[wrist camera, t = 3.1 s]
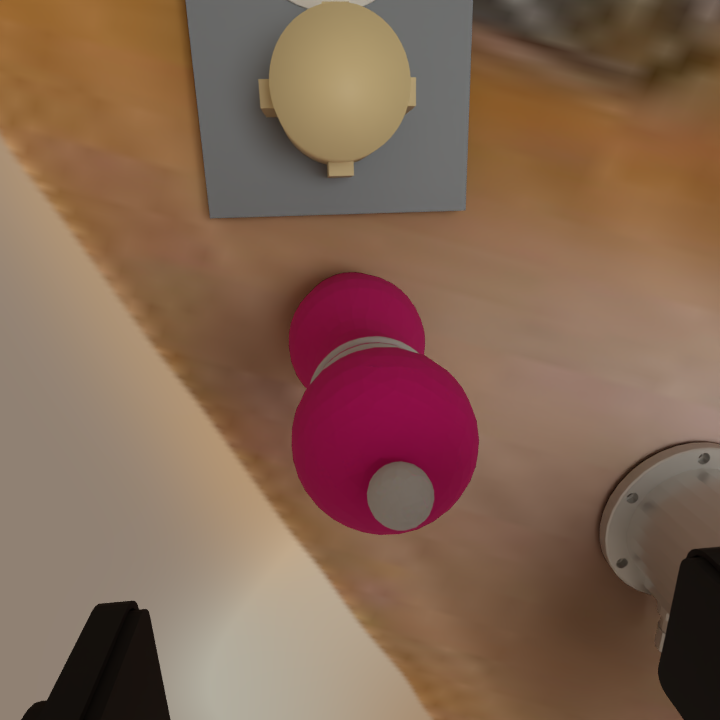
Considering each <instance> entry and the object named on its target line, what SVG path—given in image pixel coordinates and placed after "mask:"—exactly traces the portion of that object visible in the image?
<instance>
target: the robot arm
mask: <svg viewBox="0 0 720 720" xmlns="http://www.w3.org/2000/svg"><path fill="white" fill-rule="evenodd" d="M600 544H601V549H602V553H603V555H604V557H605V559H606V561H607V563H608V564H609V566H610V567H611V568H612V569H613V571H614V572H615V573H616V575H617V576H618V577H619V578H620V579H621V580H622V581H623V582H625V583H626V584H627V585H629V586H631V587H632V588H634V589H636V590H638V591H641V592H644V593H647V594H650V595H653V596H654V598H655V599H656V600H657V611H658V613H659V615H661V618H660V621H659V622H658V625H657V630H656V635H655V646H656V648H657V649H658V650H659V651H660V652H661V658H660V663H659V667H658V675H659V680H660V683H661V686H662V688H663V690H664V692H665V693H666V695H667V696H668V698H669V699H670V701H671V702H672V703H673V705H674V706H675V708H676V709H677V711H678V712H679V713H680V715H681V716H682V718H683V719H684V720H720V444H716V443H710V442H701V443H689V444H684V445H679V446H675V447H672V448H670V449H667V450H664V451H661V452H659V453H657V454H656V455H654V456H652V457H650V458H648V459H647V460H645V461H644V462H642V463H641V464H640V465H638V466H637V467H636V468H634V469H633V470H632V471H631V472H630V473H629V474H628V475H627V476H626V477H625V478H624V479H623V480H622V481H621V482H620V483H619V485H618V486H617V487H616V489H615V490H614V492H613V493H612V495H611V496H610V498H609V500H608V502H607V504H606V507H605V509H604V511H603V515H602V519H601V523H600ZM21 720H170V715H169V710H168V705H167V700H166V695H165V690H164V685H163V680H162V675H161V670H160V665H159V660H158V655H157V649H156V645H155V640H154V634H153V629H152V624H151V619H150V615H149V611H148V610H147V609H142V610H139V608H138V605H137V603H136V602H135V601H125V602H114V603H103V604H98V605H97V606H95V608H94V609H93V611H92V612H91V615H90V616H89V618H88V620H87V622H86V624H85V626H84V628H83V630H82V632H81V634H80V636H79V638H78V640H77V642H76V644H75V646H74V648H73V650H72V652H71V654H70V656H69V658H68V660H67V662H66V664H65V666H64V668H63V670H62V672H61V674H60V676H59V678H58V680H57V682H56V684H55V686H54V688H53V690H52V692H51V694H50V696H49V698H48V699H47V701H40V702H37V703H34V704H33V705H32V706H31V707H30V708H29V709H28V710H27V712H26V713H25V715H24V716H23V718H22V719H21Z"/></svg>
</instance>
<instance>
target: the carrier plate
mask: <svg viewBox="0 0 720 720" xmlns="http://www.w3.org/2000/svg"><path fill="white" fill-rule="evenodd" d="M186 9H187V18H188V27H189V36H190V45H191V54H192V62H193V71H194V80H195V89H196V98H197V107H198V116H199V124H200V133H201V142H202V151H203V160H204V169H205V178H206V186H207V195H208V204H209V213H210V218H237V217H269V216H301V215H333V214H365V213H397V212H429V211H461V210H465V209H466V181H467V152H468V124H469V96H470V68H471V39H472V11H473V0H186Z"/></svg>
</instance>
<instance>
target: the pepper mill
mask: <svg viewBox="0 0 720 720" xmlns="http://www.w3.org/2000/svg"><path fill="white" fill-rule="evenodd" d="M289 350H290V356H291V362H292V364H293V367H294V369H295V372H296V375H297V376H298V378H299V379H300V381H301V382H302V383H303V385H304V386H305V387H306V388H307V389H306V391H305V393H304V395H303V397H302V399H301V401H300V403H299V405H298V407H297V410H296V413H295V417H294V422H293V427H292V452H293V461H294V464H295V467H296V471H297V474H298V477H299V479H300V481H301V483H302V485H303V487H304V489H305V491H306V492H307V493H308V495H309V496H310V497H311V498H312V500H313V501H314V502H315V504H316V505H317V506H318V507H319V508H320V509H321V510H322V511H324V512H325V513H326V514H327V515H328V516H330V517H331V518H332V519H334V520H336V521H338V522H339V523H341V524H343V525H345V526H347V527H350V528H352V529H355V530H358V531H361V532H365V533H371V534H378V535H386V534H401V533H405V532H409V531H413V530H417V529H419V528H421V527H423V526H425V525H427V524H429V523H431V522H433V521H435V520H436V519H437V518H439V517H440V516H441V515H443V514H444V513H445V512H447V511H448V510H449V509H450V508H451V507H452V506H453V505H454V504H455V503H456V501H457V500H458V499H459V498H460V496H461V495H462V493H463V492H464V490H465V489H466V487H467V485H468V484H469V482H470V480H471V477H472V475H473V472H474V469H475V467H476V462H477V456H478V445H479V436H478V429H477V421H476V418H475V415H474V412H473V410H472V407H471V404H470V402H469V399H468V398H467V396H466V394H465V392H464V390H463V388H462V387H461V386H460V384H459V383H458V382H457V381H456V379H455V378H454V377H453V376H452V375H451V374H450V373H449V372H448V371H447V370H445V369H444V368H443V367H441V366H440V365H438V364H437V363H435V362H434V361H432V360H431V359H429V358H428V357H426V356H425V355H424V350H425V334H424V329H423V326H422V322H421V319H420V317H419V315H418V313H417V310H416V308H415V307H414V305H413V304H412V302H411V301H410V299H409V298H408V297H407V296H406V295H405V294H404V293H403V292H402V291H401V290H400V289H399V288H398V287H396V286H395V285H393V284H392V283H390V282H388V281H386V280H384V279H382V278H379V277H375V276H371V275H367V274H363V273H357V272H349V273H340V274H337V275H334V276H332V277H329V278H327V279H325V280H323V281H322V282H321V283H319V284H318V285H317V286H316V287H315V288H314V289H313V290H312V291H311V292H310V293H309V294H308V295H307V296H306V297H305V298H304V299H303V301H302V302H301V303H300V305H299V306H298V308H297V310H296V312H295V314H294V316H293V319H292V322H291V326H290V331H289Z"/></svg>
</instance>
